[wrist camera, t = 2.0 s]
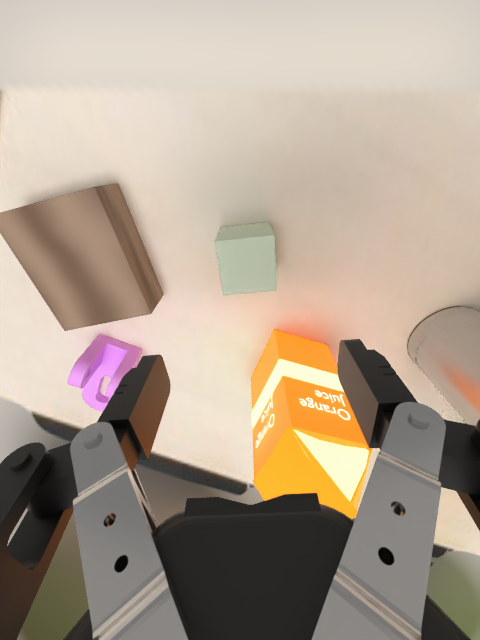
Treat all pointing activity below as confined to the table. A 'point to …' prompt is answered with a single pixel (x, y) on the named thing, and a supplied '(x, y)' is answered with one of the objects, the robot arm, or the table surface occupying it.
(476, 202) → the table surface
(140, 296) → the plate
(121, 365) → the bracket
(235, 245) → the sage block
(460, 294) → the table surface
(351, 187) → the table surface
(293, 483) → the orange juice
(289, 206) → the table surface
